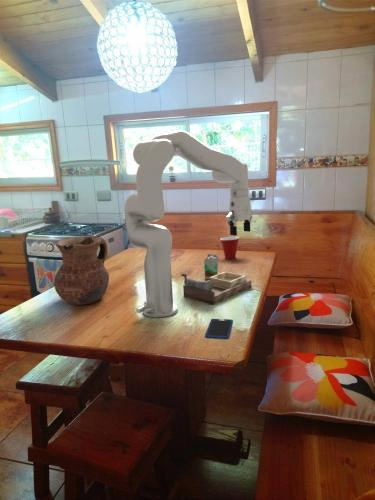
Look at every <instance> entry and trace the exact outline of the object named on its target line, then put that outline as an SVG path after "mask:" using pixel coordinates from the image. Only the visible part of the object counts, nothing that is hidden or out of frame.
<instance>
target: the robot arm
mask: <svg viewBox="0 0 375 500" xmlns="http://www.w3.org/2000/svg"><path fill="white" fill-rule="evenodd" d="M132 151H133V152H132V155H133V159H134V162H135V163H136V164H137V165H139V166H138V168H137V171H136V176H135V184H136V192H135V193H132V194H131V195H129V196H128V197H127V198H126V200H125V203H124V216H125V217H124V218H125V223H126V231H127V236H128V240H129V242H130V244H131V245H132V246H133V247H134V248H135V249H138V250H143V251H146V254H145V256H144V261H143V271H144V272H143V273H144V284H145V297H146V300H145V301H143V302H144V303H143V304H142V306H139V307H136V309H135V311H136V313H137V314H141V313H142V314H144V315H145V316H146V317H150V318H157V319H158V318H159V319H160V318H167V317H169V316H170V317H171V316H173V315H175V314H176V313H177V312H178V309H179V307H178V305H177V304H175V303H174V298H173V280H172V261H171V258H172V257H171V256H172V247H173V234H172V233H171V231H170V230H169V228H167V227H166V226H164V225H161V224H153V223H150V222H158V221H161V219H162V218H163V217H164V216H165V210H166V209H165V202H164V193H163V191H164V190H163V183H162V182H163V179H162V178H163V173H164V172H165V171H164V170H165V169H166V167H167V166H168V165H169V164H170V162H172V160H173V158H174V157H177V156H178V157H180V158H182V159H183V160H185V161H187V162H188V163H190V164H191V165H193V166H194V167H196V168H198V169H201V170H204V171H205V170H206V171H211V177H212V179H213V180H214V181H215V182H217V183H220V184H227V183H228V184H229V189H230V191H229V192H230V199H229V205H228V206H229V209H228V210H229V211H228V212H229V213H228V215H226V217H225V218H226V222H227V224H228V226H229V235H230V236H233V237H237V236H238V227H237V224H238V222H243V232H246V233H247V232H249V233H250V232H251V222H252V218H253V213H254V211H252V205H251V204H252V203H251V198H250V195H249V171H248V170H249V167H248V164H246V163H245V162H241V161H240V160H239V159H238V158H236V157H234V156H232V155H231V154H229V153H225V152H223V151H219V150H217V149H214V148H211V147H209V146H208V145H206V144H205V143H204V142H202V141H200V140H199V139H198V138H196V137H195V136H194V135H192V134H191V133H189V132H187V131H185V130H175V131H170V132H165V133H163V134H160V135H158V136H154V137H151V138H149V139H146V140H144V141H143V140H142V141H140V142H139V143H137V144H136V145H135V147H134V148H133V150H132Z"/></svg>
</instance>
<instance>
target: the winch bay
mask: <svg viewBox="0 0 375 500" xmlns="http://www.w3.org/2000/svg"><path fill="white" fill-rule="evenodd" d="M187 275H188V274H186V273H181V277H184V280H183V283H184V284H182V285H183V286H182V287H183V297H184V298H186V299H189V300H193V301H196V302H200V303H204V304H208V305H210V306H214V305H216V304H218V303H220V302H222V301H226V300H227V299H229V298H231V297H233V296H235V295H238V294H240V293H241V292H245V291H246V290H249V289H251V288H252V280H251V279H248V280H246V281H245V282H243V283H241V284H238V285H236V286H234V287H232V288H229V289H223V288H219V287H214V286H213V285H212V284H211V283H210V280H205V281H202V280H196V279H193V278H190V277H189V278H188V277H187Z"/></svg>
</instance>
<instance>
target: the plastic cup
mask: <svg viewBox="0 0 375 500" xmlns="http://www.w3.org/2000/svg"><path fill="white" fill-rule="evenodd" d="M239 239H240V237H239V236H227V237H221V238H220V239H219V240H220V242H221V245H222V250H223V254H224V258H225V259H226V260H234V259H236V257H237V249H238V243H239Z"/></svg>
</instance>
